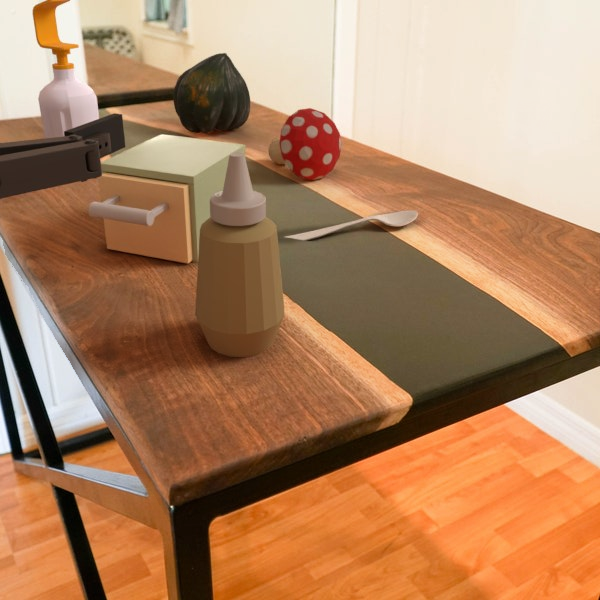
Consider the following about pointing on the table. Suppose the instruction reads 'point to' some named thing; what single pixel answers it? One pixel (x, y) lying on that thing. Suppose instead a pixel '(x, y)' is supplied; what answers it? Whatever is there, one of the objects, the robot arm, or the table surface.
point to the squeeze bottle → (239, 269)
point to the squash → (212, 96)
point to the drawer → (145, 216)
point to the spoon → (388, 219)
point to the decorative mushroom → (307, 144)
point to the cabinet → (180, 170)
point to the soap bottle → (61, 79)
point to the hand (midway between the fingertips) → (51, 121)
